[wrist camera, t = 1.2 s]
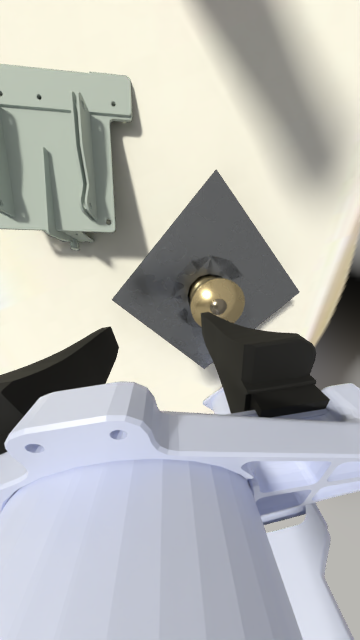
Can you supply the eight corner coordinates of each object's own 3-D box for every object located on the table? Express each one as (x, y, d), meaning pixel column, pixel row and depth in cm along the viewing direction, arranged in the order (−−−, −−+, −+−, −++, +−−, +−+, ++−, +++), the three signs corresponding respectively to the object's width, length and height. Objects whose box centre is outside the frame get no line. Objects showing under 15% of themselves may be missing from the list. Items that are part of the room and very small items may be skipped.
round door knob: (229, 288, 21) (256, 305, 14) (202, 314, 22) (215, 340, 16) (204, 261, 19) (222, 266, 13) (176, 290, 20) (180, 308, 14)
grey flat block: (280, 286, 21) (299, 292, 18) (199, 354, 26) (204, 368, 23) (206, 185, 16) (216, 169, 13) (120, 292, 20) (111, 299, 17)
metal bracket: (131, 234, 13) (-61, 227, 12) (143, 253, 19) (14, 250, 18) (123, 22, 11) (-111, -8, 10) (139, 118, 17) (-7, 105, 16)
